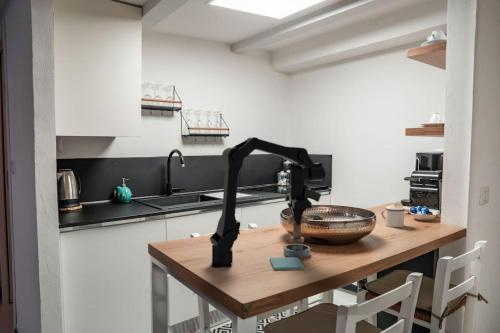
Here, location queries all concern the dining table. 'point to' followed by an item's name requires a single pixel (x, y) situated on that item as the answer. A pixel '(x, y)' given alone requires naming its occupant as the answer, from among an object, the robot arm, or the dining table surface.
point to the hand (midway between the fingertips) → (297, 223)
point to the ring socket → (297, 250)
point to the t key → (296, 229)
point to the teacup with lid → (394, 215)
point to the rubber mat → (286, 263)
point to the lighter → (316, 217)
